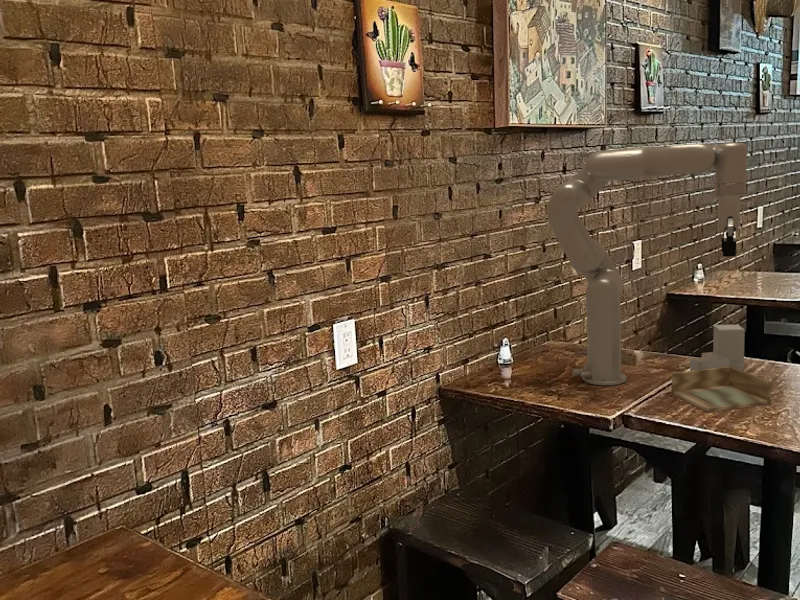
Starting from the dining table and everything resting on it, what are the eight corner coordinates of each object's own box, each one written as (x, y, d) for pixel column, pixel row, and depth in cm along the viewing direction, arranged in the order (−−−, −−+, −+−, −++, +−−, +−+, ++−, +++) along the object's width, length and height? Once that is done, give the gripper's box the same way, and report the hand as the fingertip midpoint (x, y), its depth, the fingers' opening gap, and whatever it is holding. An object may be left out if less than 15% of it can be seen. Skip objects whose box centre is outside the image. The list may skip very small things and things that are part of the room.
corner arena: (708, 412, 180) (708, 389, 179) (671, 394, 195) (671, 373, 194) (770, 404, 183) (771, 381, 182) (729, 386, 199) (730, 366, 198)
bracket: (698, 382, 205) (698, 362, 203) (681, 374, 212) (682, 355, 211) (729, 378, 207) (729, 358, 205) (711, 371, 214) (712, 351, 213)
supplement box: (744, 370, 213) (745, 329, 211) (717, 370, 215) (718, 329, 213) (737, 364, 220) (739, 324, 218) (712, 364, 222) (713, 324, 220)
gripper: (714, 189, 199) (712, 250, 202) (715, 192, 183) (713, 258, 186) (743, 188, 196) (742, 250, 199) (747, 190, 180) (745, 258, 183)
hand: (728, 254), depth 193 cm, fingers open, 9 cm apart
